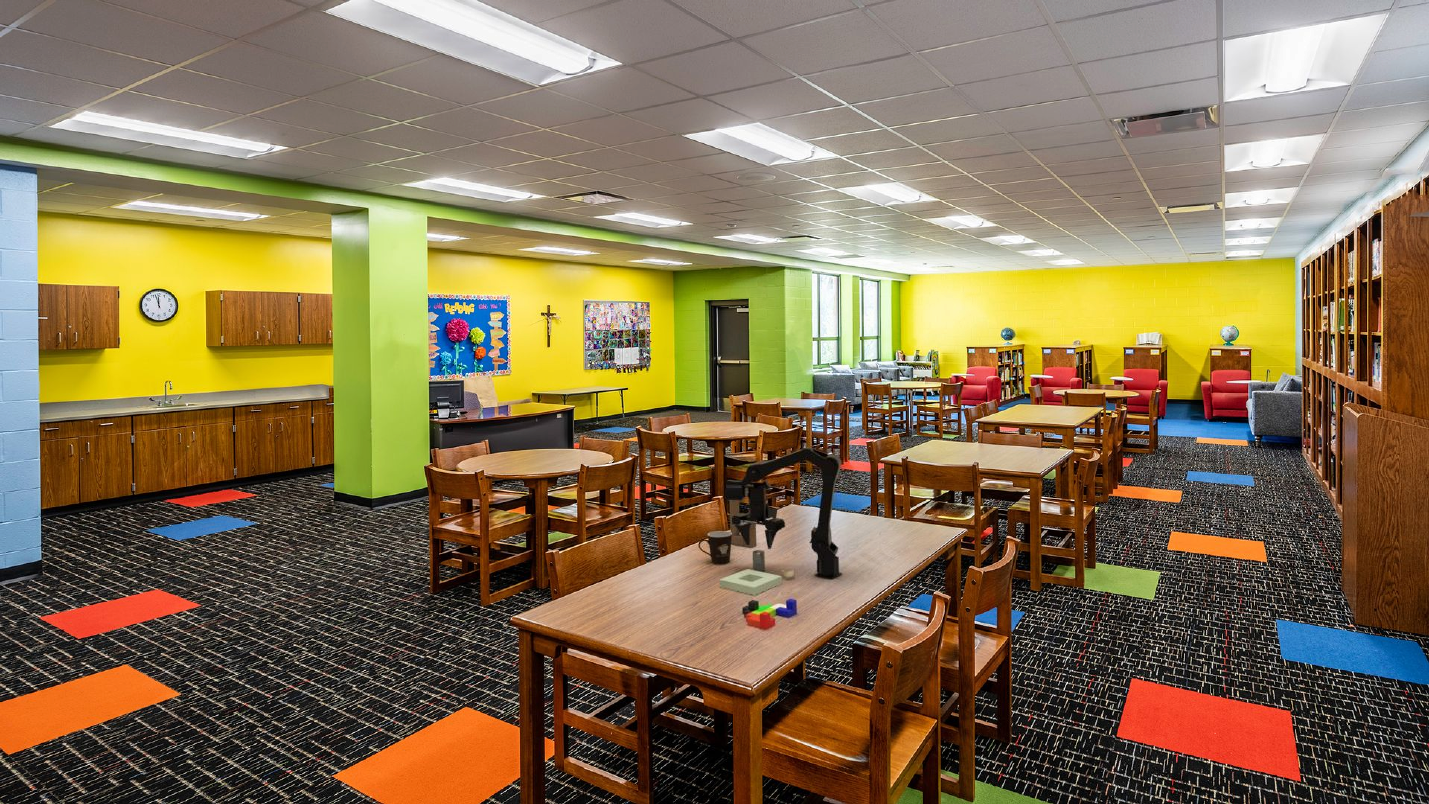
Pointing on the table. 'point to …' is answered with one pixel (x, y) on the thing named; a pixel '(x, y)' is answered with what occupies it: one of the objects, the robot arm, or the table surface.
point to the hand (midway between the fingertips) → (758, 546)
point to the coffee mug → (719, 546)
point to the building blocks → (767, 613)
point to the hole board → (750, 581)
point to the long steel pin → (759, 560)
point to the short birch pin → (788, 574)
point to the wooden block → (736, 535)
